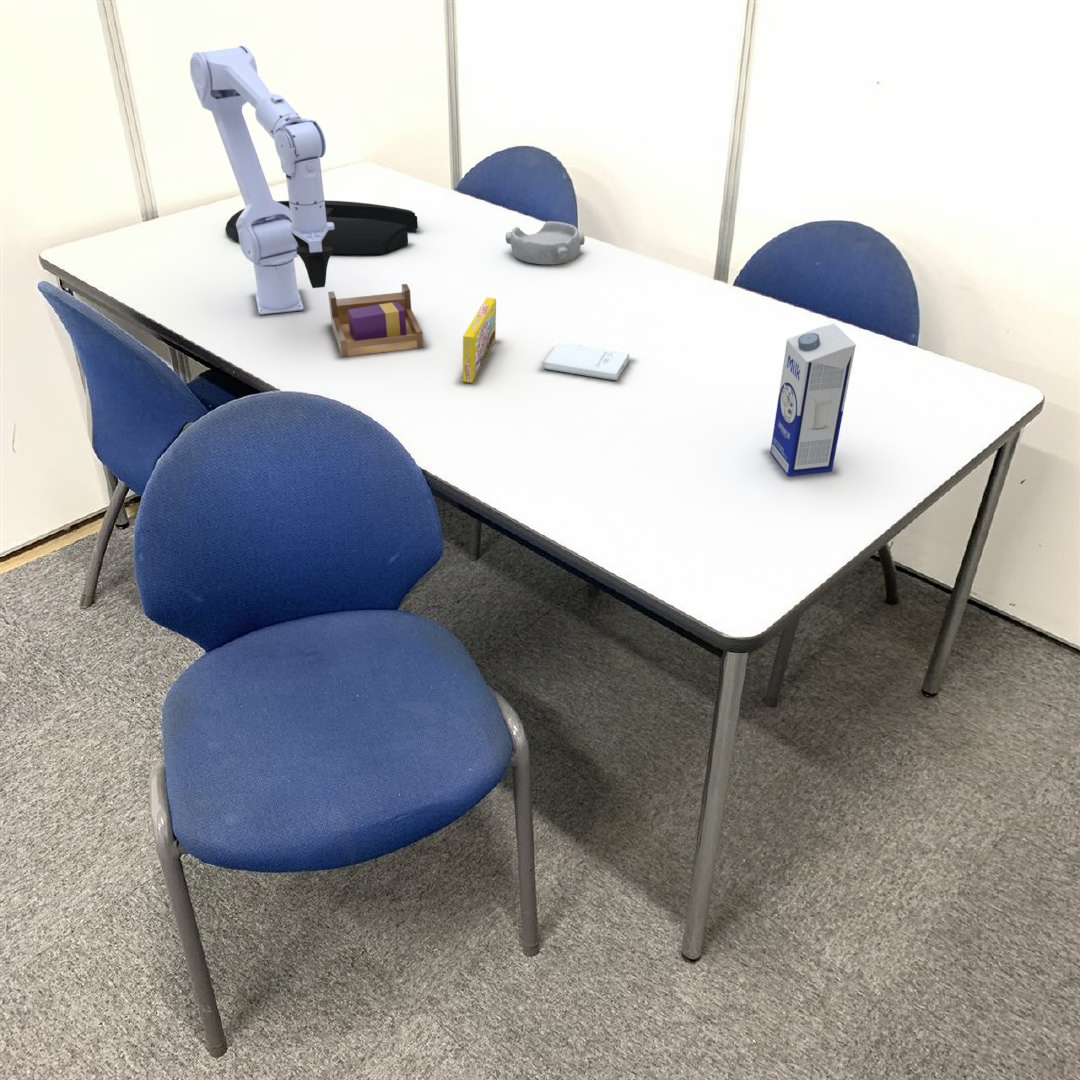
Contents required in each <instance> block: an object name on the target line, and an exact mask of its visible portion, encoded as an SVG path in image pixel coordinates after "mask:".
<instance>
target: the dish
mask: <svg viewBox="0 0 1080 1080" xmlns="http://www.w3.org/2000/svg"><path fill="white" fill-rule="evenodd" d="M505 241H506V244H508V245H510V247H511V251H512V254H513V256H514V257H515V258H516V259H518V260H520V261H523V262H526V263H529V264H537V265H559V264H564V263H568V262H571V261H572V260H574V259H575V258H577V257H578V256H579V254H580V251H581V246H583V245H584V244H585V242H586V240H585V234H584V233H583V232H581V233H580V232H579V229H578V228H577V227H576V226H575V225H574V224H571V223H566V222H562V221H551V220H548V221H546V222H545V223H544V224H543V225H542V227H541V228H540V230H539V231H537V232H535V233H533V234H527V233H525V232H524V231H523V230H521V228H520V227H518V226H516V227H514V228H513V229H512V230H511V231H508V232H506V233H505Z"/></svg>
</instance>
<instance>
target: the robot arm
mask: <svg viewBox="0 0 1080 1080" xmlns="http://www.w3.org/2000/svg"><path fill="white" fill-rule="evenodd" d="M189 74H190V78H191V81H192V84H193V87H194V89H195V93H196V95H197V98H198V100H199V102H200V104H201V107H202V108H203V109H205V110H207V111H209V112H211V114H212V117H213V119H214V123H215V126H216V128H217V131H218V133H219V134H218V135H219V136H220V139H221V142H222V146H223V147H224V150H225V153H226V156H227V159H228V161H229V162H228V163H229V165H230V167H231V170H232V173H233V175H234V179H235V181H236V184H237V187H238V189H239V192H240V195H241V197H242V200H243V203H244V206H245V207H244V208H245V209H244V208H243V209H244V211H243V212H242V214H241V215H240V216H239V218H238V220H237V223H236V227H237V231H238V235H239V241H238V242H239V246H240V249H241V251H242V253H243V256H244V257H245V258H246V259H247V260H248V261H249V262H251V263H252V264H253V270H254V277H255V283H256V290H257V292H256V293H254V295H255V300H256V307H257V310H258V314H259V315H269V314H279V313H280V314H281V313H289V312H296V311H297V312H298V311H303V310H304V305H303V301H302V298H301V295H300V290H299V288H298V281H297V272H296V265H295V258H297V257H298V256H299V258H300V259H301V260H302V262H303V264H304V267H305V269H306V272H307V276H308V279H309V283H310V285H311V288H312V289H319V288H326V283H327V270H328V265H329V260H330V258H331V256H332V255H333V254H332V247H331V246H328V247H322V244H321V243H322V239H323V238H324V236H325V235H326V233H327V232H328V231H329V230H333V229H334V223H333V222H327V221H326V211H325V202H324V200H325V194H324V184H323V174H322V164H321V159H320V158H323V157H324V156H325V154H326V151H327V150H326V149H327V146H326V145H327V143H326V138H325V135H324V132H323V130H322V129H323V128H321V126H320V125H319V123H318V122H317V121H316V120H315V119H308V118H302V116H301V115H300V114H299V113H298V111H296V109H294V107H293V106H292V105H291V104H290V103H289V102H288V101H287V99H285V98H284V96H282V95H281V94H277V93H272V92H271V91H270V89H269V88H268V87H267V85H266V84H265V83H264V80H262V78H261V77H260V75H259V73H258V65H257V61H256V59H255V55H254V54H253V52H252V51H251V50H250V49H249V48H248V47H247V46H246V45H239V46H238V47H237V46H235V47H230V48H222V49H216V50H209V51H202V52H200V51H195V52H193V53H192V55H191V57H190V62H189ZM247 103H249V105H250V106H252V108H254V109H255V111H254V113H255V114H254V115H255V116H254V117H255V119H256V122H258V124H259V125H260V126H261V127H262V128H263V129H264V130H265V132H266V133H267V134H268V136H270V137H271V138H272V140H273V141H274V146H275V147H274V148H275V150H276V153H277V156H278V158H279V161H280V168H281V169H282V172H283V174H285V180H286V187H287V196H288V201H289V205H290V210H289V208H288V207H286V206H284V205H282V204H280V203H278V202H276V200H275V199H273V196H272V193H271V190H270V187H269V184H268V181H267V179H266V176H265V173H264V170H263V168H262V167H263V166H262V165H261V162H260V159H259V156H258V153H257V149H256V148H255V145H254V142H253V139H252V136H251V133H250V130H249V127H248V125H247V122H246V119H245V116H244V114H243V106H244V105H245V104H247ZM268 220H273V221H268ZM264 221H268V222H264ZM260 222H264V223H260ZM255 223H260V224H256V225H252V224H255Z"/></svg>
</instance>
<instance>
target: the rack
mask: <svg viewBox="0 0 1080 1080" xmlns="http://www.w3.org/2000/svg"><path fill="white" fill-rule="evenodd" d="M327 296H328V305H329V313H330V323H331V329H332V331H333V335H334V337H335V340H336V343H337V346H338V349H339V352H340V356H341V357H342V358H345V357H353V356H363V355H370V354H371V355H372V354H379V353H389V352H396V351H405V350H414V349H422V348H424V339H423V338H424V337H423V336H424V335H423V329H422V327H421V325H420V324H419V322H418V320H417V318H416V316H415V313H414V312H413V310H412V300H411V298H412V297H411V289H410V288H409V286H408V283H402V284H401V292H391V293H383V294H373V295H372V294H371V295H363V296H354V297H352V296H351V297H345V298H344V297H343V298H337V297H336V294H335V291H334V290H333V291H328V292H327ZM393 302H399V303H400V305H401V306H402V307H403V308H404V310H405V318H406V332H407V334H406V335H401V336H393V337H385V338H376V339H367V340H358V341H354V339H353V338H352V336H351V334H350V329H349V319H348V309H355V308H361V307H367V306H374V305H379V304H386V303H393Z"/></svg>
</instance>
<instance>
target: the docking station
mask: <svg viewBox="0 0 1080 1080" xmlns="http://www.w3.org/2000/svg"><path fill="white" fill-rule="evenodd" d="M275 201H276V200H275ZM276 202H278V203H280V204H282V205H284V206H286V207H288V208H289V210H290V205H289V200H280V201H279V200H277V201H276ZM324 202H325V211H326V221H327V222H333V223H334V229H333V230H329V231H328V232H327V233H326V235H325V236H324V238H323V239H322V243H321V244H322V247H328V246H331V247H332V254H331V255H333V254H334V255H380V254H382V255H383V254H388V253H389V254H390V253H391V252H394V251H396V250H399V249H402V248H404V247H406V246H408V245H409V233H414V234H415V233H417V229H419V226H418V225H419V223H418V216H417V215H416V213H415V212H414V211H412V210H410V209H405V208H400V207H395V206H390V205H383V204H376V203H375V204H374V203H367V202H357V201H344V200H327V199H326V200H325V199H324ZM244 209H245V207H244V208H242V209H240V210H238V211H237V212H236V213H234V214H233V215H232V216H231V217H230V218H229V219H228V220H227V222H226V225H225V229H224V230H225V234H226V235H227V236H228V237H229V238H230V239H231V240H234V241H238V242H239V235H238V231H237V227H236V223H237V220H238V218H239V216H240V215H241V214H242V212H243V211H244ZM268 221H273V220H268ZM268 221H264V222H268ZM264 222H260V223H264ZM260 223H255V224H252V225H256V224H260Z"/></svg>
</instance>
